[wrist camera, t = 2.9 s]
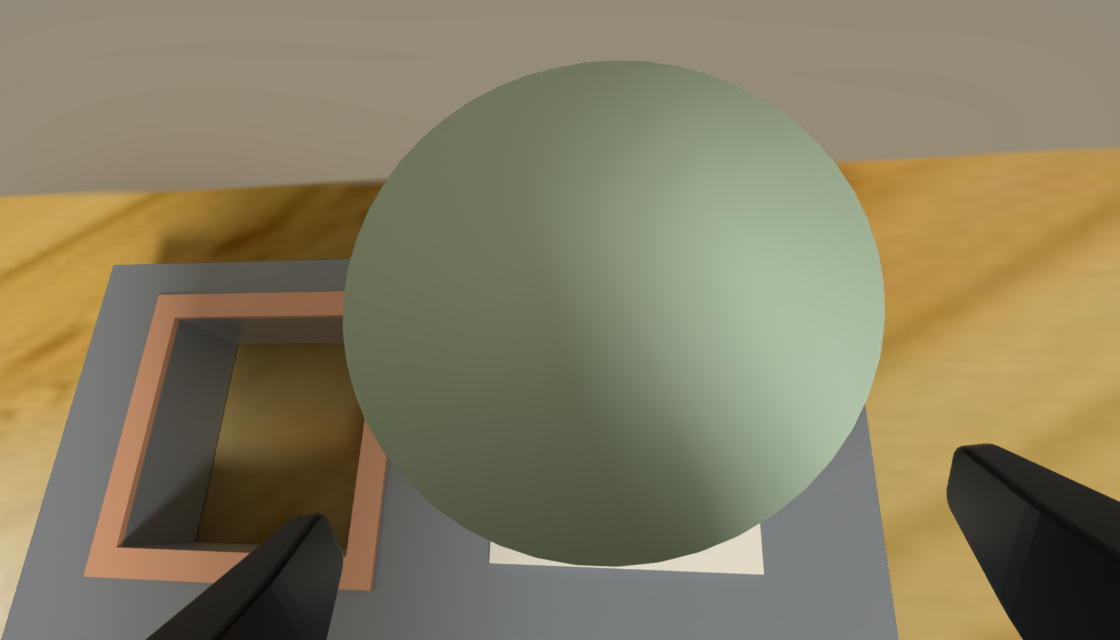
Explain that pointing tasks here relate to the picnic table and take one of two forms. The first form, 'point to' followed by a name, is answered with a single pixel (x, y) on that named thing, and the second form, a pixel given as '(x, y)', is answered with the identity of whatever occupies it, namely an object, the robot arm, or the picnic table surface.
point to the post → (613, 313)
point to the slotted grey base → (382, 506)
